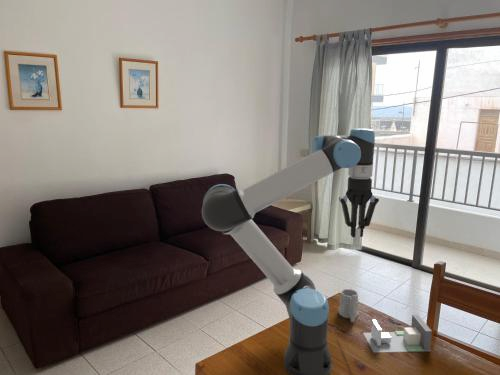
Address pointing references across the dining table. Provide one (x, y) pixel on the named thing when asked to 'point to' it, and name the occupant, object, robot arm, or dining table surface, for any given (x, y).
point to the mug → (349, 304)
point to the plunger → (379, 334)
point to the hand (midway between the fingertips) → (356, 245)
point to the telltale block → (412, 336)
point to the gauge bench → (398, 341)
